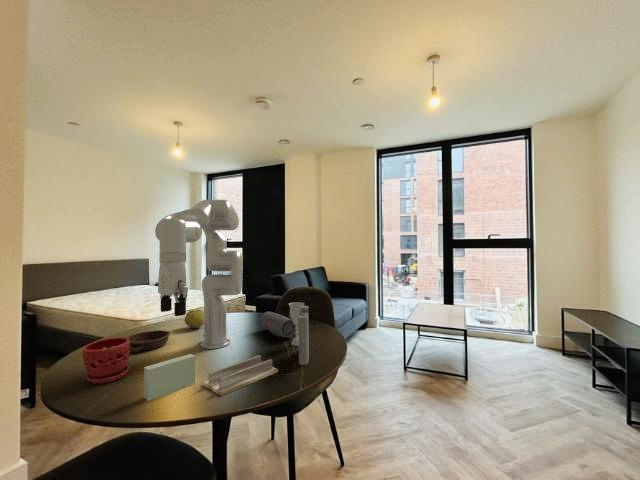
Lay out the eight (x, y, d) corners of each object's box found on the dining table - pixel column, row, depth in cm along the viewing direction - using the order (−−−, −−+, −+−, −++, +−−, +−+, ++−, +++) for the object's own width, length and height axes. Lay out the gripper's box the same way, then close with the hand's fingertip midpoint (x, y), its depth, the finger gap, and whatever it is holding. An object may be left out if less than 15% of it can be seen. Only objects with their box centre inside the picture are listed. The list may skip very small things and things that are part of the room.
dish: (111, 355, 124) (111, 343, 125) (146, 338, 146) (146, 328, 147) (151, 355, 123) (151, 343, 123) (180, 339, 145) (180, 328, 145)
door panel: (144, 398, 88) (144, 367, 88) (190, 381, 99) (190, 353, 99) (148, 401, 86) (148, 369, 86) (195, 384, 97) (195, 356, 97)
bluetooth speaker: (258, 331, 157) (258, 311, 157) (274, 328, 162) (274, 309, 163) (279, 341, 139) (279, 320, 139) (297, 338, 144) (296, 317, 144)
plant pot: (102, 370, 109) (102, 336, 109) (138, 370, 108) (138, 336, 108) (71, 387, 96) (72, 349, 96) (112, 387, 95) (112, 349, 95)
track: (202, 385, 96) (202, 372, 96) (258, 364, 112) (258, 353, 113) (221, 396, 89) (221, 382, 89) (278, 371, 105) (277, 360, 105)
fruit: (179, 330, 159) (179, 311, 159) (192, 325, 171) (192, 307, 171) (198, 331, 157) (198, 312, 157) (210, 325, 169) (210, 307, 169)
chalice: (306, 341, 139) (305, 302, 139) (303, 346, 132) (303, 305, 132) (290, 341, 140) (290, 302, 140) (287, 345, 133) (287, 305, 133)
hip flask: (299, 350, 127) (298, 302, 127) (308, 350, 127) (308, 302, 128) (298, 365, 111) (298, 311, 111) (309, 364, 111) (309, 310, 112)
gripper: (149, 258, 97) (148, 311, 96) (173, 259, 85) (173, 319, 85) (172, 257, 102) (172, 308, 102) (198, 258, 91) (198, 314, 91)
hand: (172, 313), depth 93 cm, fingers open, 9 cm apart
